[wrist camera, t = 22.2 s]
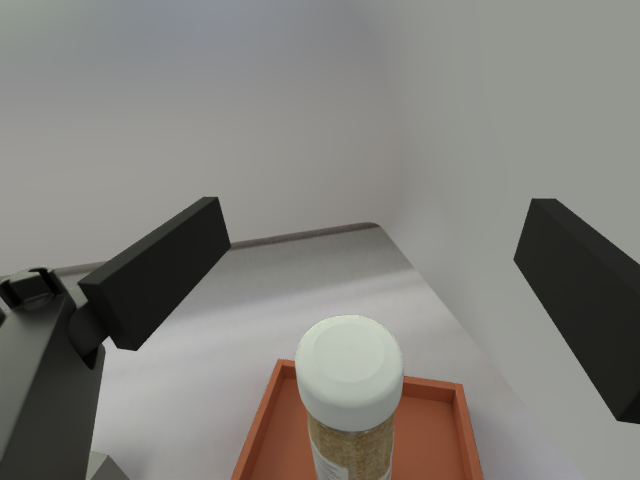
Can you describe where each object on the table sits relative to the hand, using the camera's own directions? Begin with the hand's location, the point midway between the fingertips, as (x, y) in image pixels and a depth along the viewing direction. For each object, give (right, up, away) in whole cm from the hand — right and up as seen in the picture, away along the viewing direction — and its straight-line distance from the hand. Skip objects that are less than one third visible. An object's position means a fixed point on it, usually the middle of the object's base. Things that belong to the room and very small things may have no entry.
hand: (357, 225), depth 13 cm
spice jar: (+1, -17, +6) cm, 18 cm away
